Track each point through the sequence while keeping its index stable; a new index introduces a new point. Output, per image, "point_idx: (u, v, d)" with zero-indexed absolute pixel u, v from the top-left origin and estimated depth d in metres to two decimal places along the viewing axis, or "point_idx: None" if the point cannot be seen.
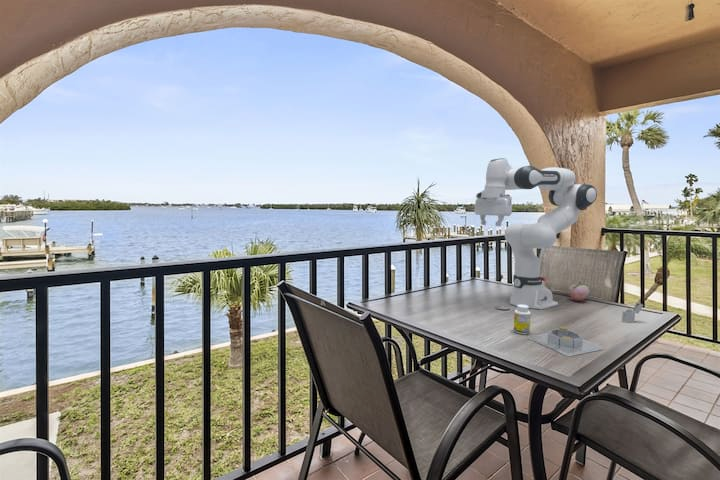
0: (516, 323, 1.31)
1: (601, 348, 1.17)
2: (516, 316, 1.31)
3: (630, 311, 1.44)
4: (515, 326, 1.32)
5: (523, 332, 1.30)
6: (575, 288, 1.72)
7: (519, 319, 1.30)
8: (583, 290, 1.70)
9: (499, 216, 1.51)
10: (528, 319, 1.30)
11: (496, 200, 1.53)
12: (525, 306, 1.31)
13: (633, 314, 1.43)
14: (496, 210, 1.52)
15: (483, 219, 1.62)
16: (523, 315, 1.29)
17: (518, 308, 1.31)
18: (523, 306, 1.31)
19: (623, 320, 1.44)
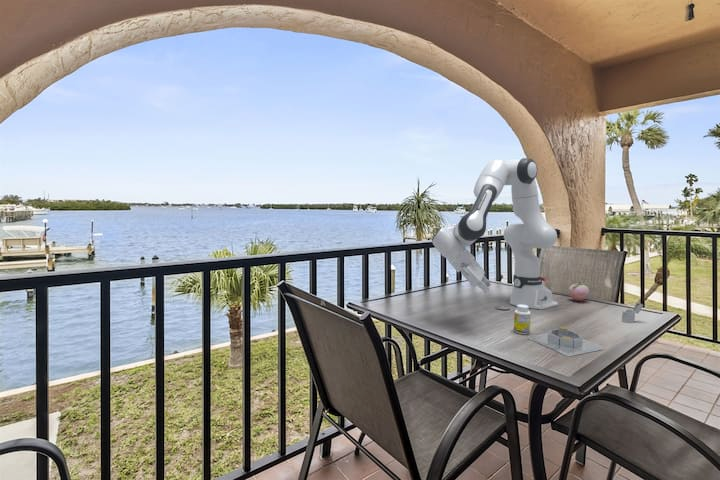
0: (516, 323, 1.31)
1: (601, 348, 1.17)
2: (516, 316, 1.31)
3: (630, 311, 1.44)
4: (515, 326, 1.32)
5: (523, 332, 1.30)
6: (575, 288, 1.72)
7: (519, 319, 1.30)
8: (583, 290, 1.70)
9: (477, 285, 1.32)
10: (528, 319, 1.30)
11: None
12: (525, 306, 1.31)
13: (633, 314, 1.43)
14: None
15: (485, 281, 1.41)
16: (523, 315, 1.29)
17: (518, 308, 1.31)
18: (523, 306, 1.31)
19: (623, 320, 1.44)
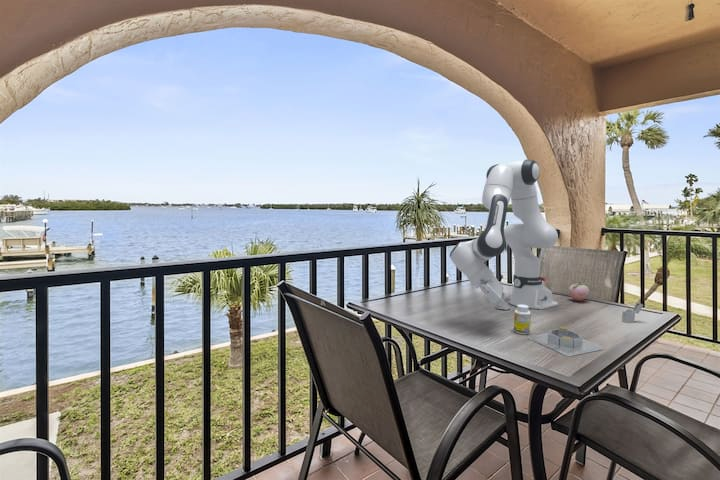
0: (516, 323, 1.31)
1: (601, 348, 1.17)
2: (516, 316, 1.31)
3: (630, 311, 1.44)
4: (515, 326, 1.32)
5: (523, 332, 1.30)
6: (575, 288, 1.72)
7: (519, 319, 1.30)
8: (583, 290, 1.70)
9: (497, 302, 1.30)
10: (528, 319, 1.30)
11: None
12: (525, 306, 1.31)
13: (633, 314, 1.43)
14: None
15: (504, 297, 1.39)
16: (523, 315, 1.29)
17: (518, 308, 1.31)
18: (523, 306, 1.31)
19: (623, 320, 1.44)
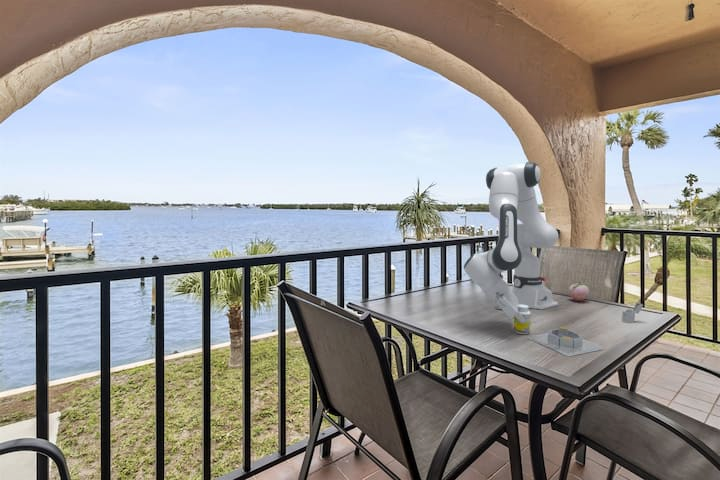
0: (516, 323, 1.31)
1: (601, 348, 1.17)
2: None
3: (630, 311, 1.44)
4: (515, 326, 1.32)
5: (523, 332, 1.30)
6: (575, 288, 1.72)
7: None
8: (583, 290, 1.70)
9: None
10: (528, 319, 1.30)
11: None
12: (525, 306, 1.31)
13: (633, 314, 1.43)
14: None
15: None
16: (523, 315, 1.29)
17: (518, 308, 1.31)
18: (523, 306, 1.31)
19: (623, 320, 1.44)
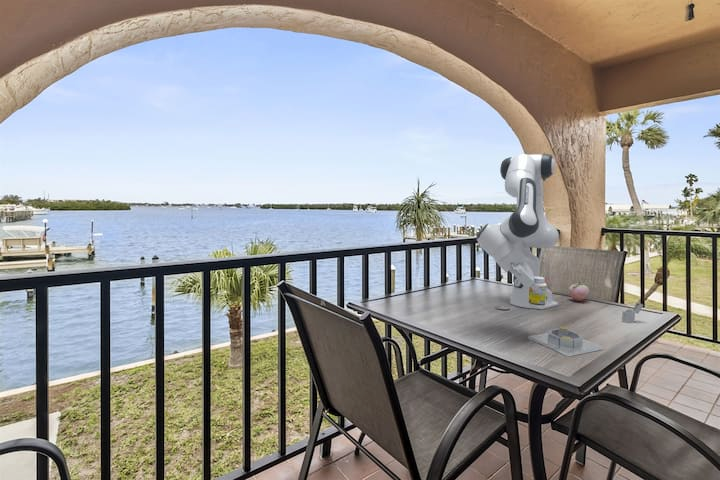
0: (531, 295, 1.26)
1: (601, 348, 1.17)
2: (531, 288, 1.26)
3: (630, 311, 1.44)
4: (530, 299, 1.27)
5: (539, 304, 1.25)
6: (575, 288, 1.72)
7: (534, 291, 1.25)
8: (583, 290, 1.70)
9: (529, 285, 1.24)
10: (544, 291, 1.24)
11: None
12: (541, 278, 1.26)
13: (633, 314, 1.43)
14: None
15: None
16: None
17: None
18: (539, 278, 1.25)
19: (623, 320, 1.44)
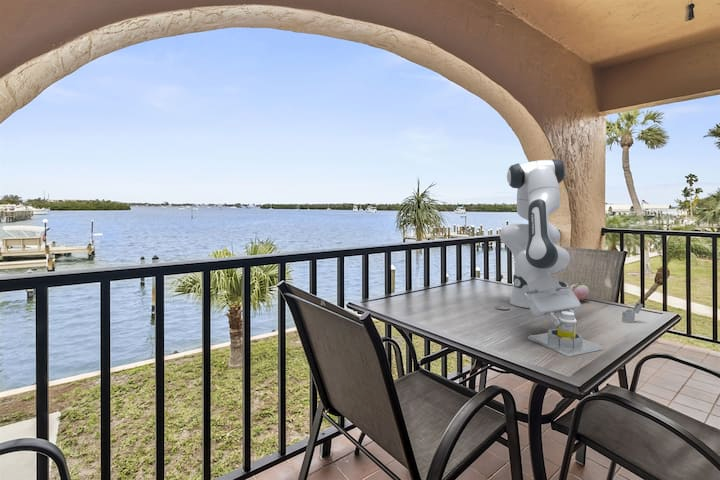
0: (558, 330, 1.21)
1: (601, 348, 1.17)
2: None
3: (630, 311, 1.44)
4: (557, 334, 1.21)
5: None
6: (575, 288, 1.72)
7: (560, 326, 1.19)
8: (583, 290, 1.70)
9: None
10: (571, 328, 1.17)
11: None
12: (570, 313, 1.19)
13: (633, 314, 1.43)
14: None
15: None
16: (564, 323, 1.18)
17: (561, 314, 1.20)
18: (567, 313, 1.19)
19: (623, 320, 1.44)
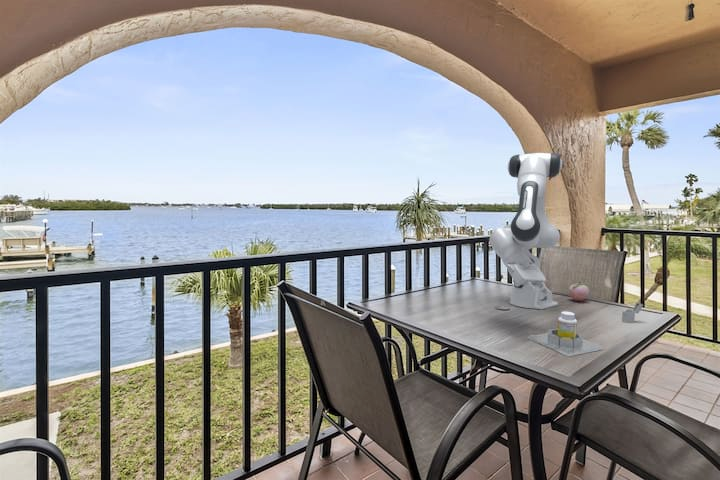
0: (558, 331, 1.21)
1: (601, 348, 1.17)
2: (558, 323, 1.21)
3: (630, 311, 1.44)
4: (558, 334, 1.21)
5: None
6: (575, 288, 1.72)
7: (561, 327, 1.19)
8: (583, 290, 1.70)
9: None
10: (571, 328, 1.17)
11: None
12: (570, 314, 1.19)
13: (633, 314, 1.43)
14: None
15: (542, 287, 1.34)
16: (564, 323, 1.18)
17: (561, 315, 1.20)
18: (567, 313, 1.19)
19: (623, 320, 1.44)
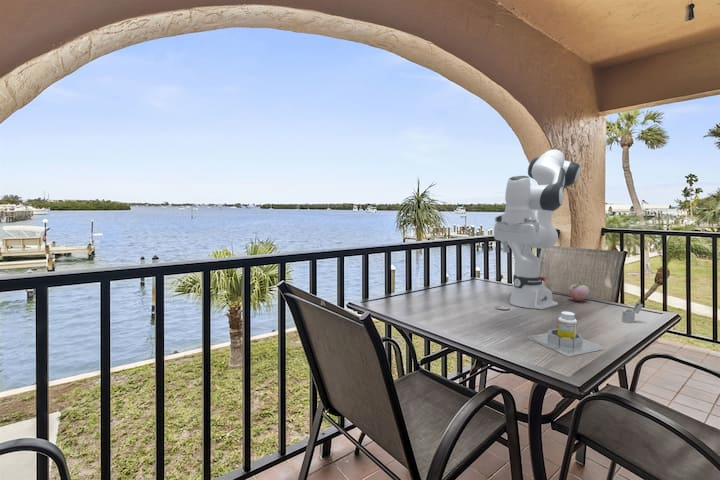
0: (558, 331, 1.21)
1: (601, 348, 1.17)
2: (558, 323, 1.21)
3: (630, 311, 1.44)
4: (558, 334, 1.21)
5: None
6: (575, 288, 1.72)
7: (561, 327, 1.19)
8: (583, 290, 1.70)
9: (525, 245, 1.29)
10: (571, 328, 1.17)
11: (520, 226, 1.30)
12: (570, 313, 1.19)
13: (633, 314, 1.43)
14: (521, 238, 1.30)
15: (505, 246, 1.40)
16: (564, 323, 1.18)
17: (561, 315, 1.20)
18: (567, 313, 1.19)
19: (623, 320, 1.44)
